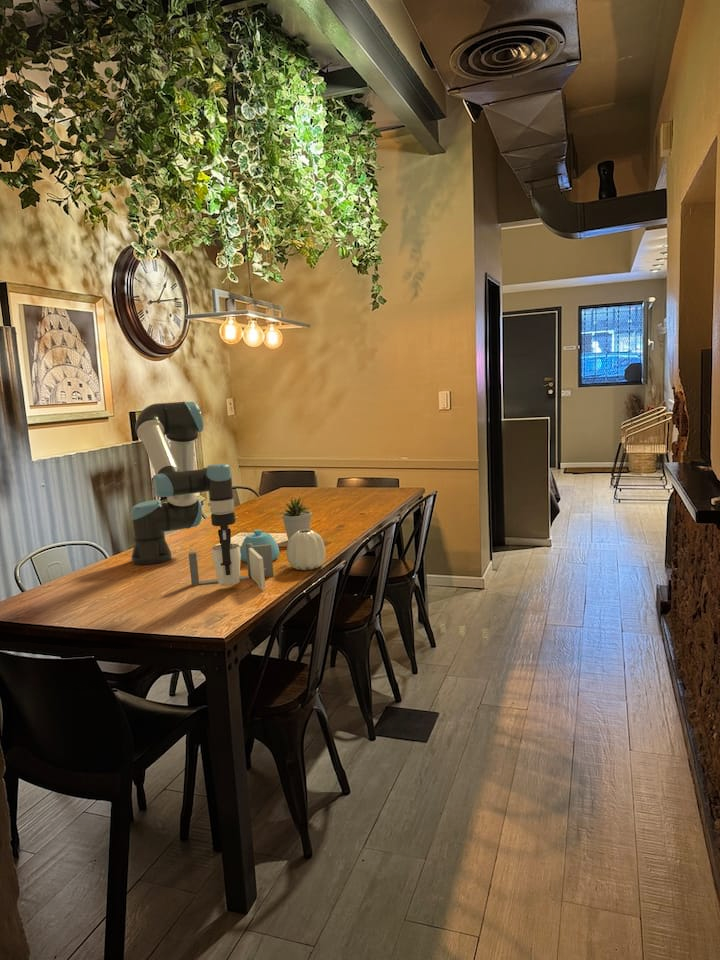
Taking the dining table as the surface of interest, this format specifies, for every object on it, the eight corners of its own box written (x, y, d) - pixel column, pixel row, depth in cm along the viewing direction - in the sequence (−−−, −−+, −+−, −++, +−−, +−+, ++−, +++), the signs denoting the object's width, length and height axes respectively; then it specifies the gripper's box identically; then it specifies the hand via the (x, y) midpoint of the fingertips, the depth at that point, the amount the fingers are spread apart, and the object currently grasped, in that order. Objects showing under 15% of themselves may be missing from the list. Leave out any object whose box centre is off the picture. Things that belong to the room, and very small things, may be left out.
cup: (210, 583, 211) (206, 547, 209) (234, 577, 216) (231, 542, 215) (223, 588, 204) (219, 552, 202) (248, 582, 209) (244, 546, 208)
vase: (280, 568, 232) (277, 532, 230) (312, 560, 241) (309, 525, 239) (302, 575, 222) (299, 537, 220) (334, 566, 230) (332, 529, 228)
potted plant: (275, 541, 274) (271, 495, 272) (301, 535, 283) (298, 490, 281) (293, 545, 265) (289, 498, 262) (319, 539, 274) (316, 492, 271)
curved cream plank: (250, 576, 221) (248, 548, 219) (257, 575, 222) (255, 547, 220) (261, 588, 206) (259, 558, 205) (269, 587, 207) (266, 557, 206)
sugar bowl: (287, 556, 249) (285, 527, 247) (261, 566, 236) (258, 536, 235) (259, 553, 257) (256, 524, 255) (232, 562, 245) (229, 533, 243)
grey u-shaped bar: (192, 583, 220) (188, 549, 219) (273, 574, 225) (270, 540, 224) (191, 585, 217) (188, 551, 216) (273, 576, 223) (270, 542, 221)
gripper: (211, 507, 217) (217, 572, 220) (209, 519, 196) (216, 591, 199) (234, 505, 218) (240, 570, 221) (234, 517, 197) (241, 588, 200)
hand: (229, 580), depth 210 cm, fingers closed on cup, 9 cm apart
